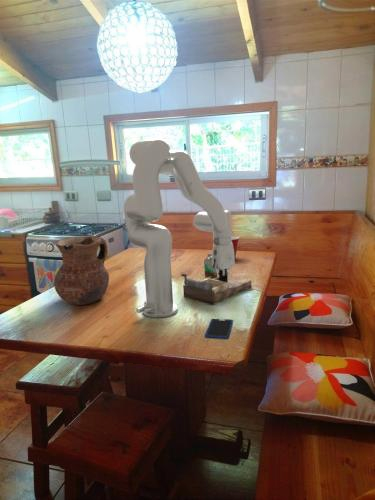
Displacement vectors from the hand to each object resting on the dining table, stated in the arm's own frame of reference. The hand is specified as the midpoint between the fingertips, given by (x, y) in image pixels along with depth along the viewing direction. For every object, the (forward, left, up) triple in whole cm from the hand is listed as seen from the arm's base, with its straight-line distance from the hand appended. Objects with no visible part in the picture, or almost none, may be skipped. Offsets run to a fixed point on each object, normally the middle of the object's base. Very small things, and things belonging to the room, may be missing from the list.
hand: (223, 283), depth 150 cm
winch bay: (-3, 0, -3) cm, 4 cm away
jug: (-42, +39, -3) cm, 58 cm away
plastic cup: (+47, +31, -3) cm, 56 cm away
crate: (-9, 0, -1) cm, 9 cm away
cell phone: (-31, -22, -3) cm, 38 cm away
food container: (+12, +15, -3) cm, 19 cm away
